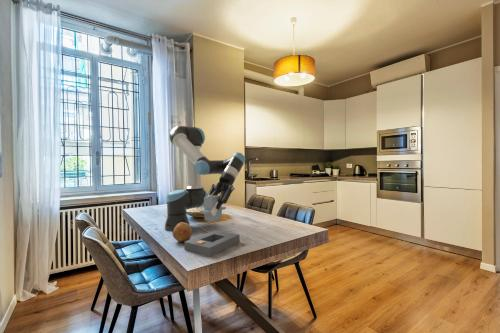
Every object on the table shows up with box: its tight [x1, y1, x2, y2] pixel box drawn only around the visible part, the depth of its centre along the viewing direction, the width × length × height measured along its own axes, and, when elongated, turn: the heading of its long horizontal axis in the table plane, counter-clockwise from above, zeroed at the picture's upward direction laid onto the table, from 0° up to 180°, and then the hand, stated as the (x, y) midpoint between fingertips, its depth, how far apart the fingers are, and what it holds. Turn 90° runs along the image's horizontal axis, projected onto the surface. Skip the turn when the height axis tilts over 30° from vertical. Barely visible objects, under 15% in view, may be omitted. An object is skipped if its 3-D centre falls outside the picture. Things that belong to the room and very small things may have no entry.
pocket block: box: [183, 229, 241, 258], centre depth 121 cm, size 22×16×5 cm
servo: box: [199, 195, 227, 222], centre depth 120 cm, size 13×5×12 cm, turn 146°
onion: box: [172, 222, 193, 243], centre depth 129 cm, size 10×10×10 cm
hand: (207, 213), depth 117 cm, fingers closed on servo, 5 cm apart
